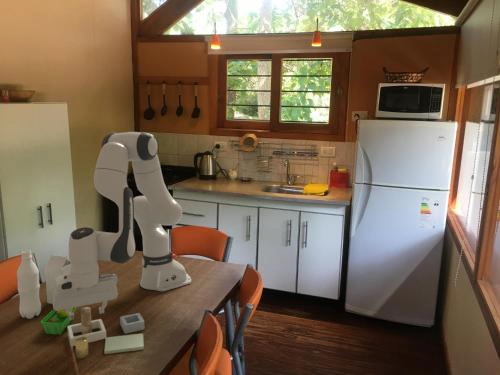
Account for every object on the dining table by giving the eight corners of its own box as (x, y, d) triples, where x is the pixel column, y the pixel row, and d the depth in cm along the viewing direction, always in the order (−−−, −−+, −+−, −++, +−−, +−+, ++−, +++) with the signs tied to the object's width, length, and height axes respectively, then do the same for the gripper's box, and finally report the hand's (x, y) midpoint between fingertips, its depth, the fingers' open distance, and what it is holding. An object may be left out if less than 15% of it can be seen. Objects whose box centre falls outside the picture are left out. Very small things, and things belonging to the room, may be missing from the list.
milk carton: (63, 305, 164) (60, 259, 160) (47, 303, 166) (44, 257, 162) (74, 297, 171) (72, 253, 167) (58, 295, 172) (56, 251, 169)
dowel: (91, 333, 145) (89, 306, 143) (93, 337, 142) (91, 310, 140) (81, 335, 143) (79, 308, 141) (82, 340, 140) (81, 312, 138)
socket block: (139, 322, 153) (139, 312, 153) (144, 331, 148) (144, 321, 147) (120, 327, 150) (120, 316, 149) (124, 336, 144) (124, 325, 144)
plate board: (143, 340, 143) (143, 333, 143) (143, 353, 136) (143, 346, 135) (106, 344, 140) (105, 337, 140) (104, 358, 133) (104, 351, 132)
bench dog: (87, 353, 134) (86, 336, 133) (89, 359, 131) (88, 341, 130) (75, 356, 132) (74, 338, 131) (77, 362, 129) (76, 344, 128)
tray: (101, 328, 149) (101, 318, 148) (106, 340, 141) (106, 331, 141) (68, 335, 144) (67, 325, 143) (71, 349, 136) (70, 339, 135)
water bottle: (25, 310, 159) (20, 248, 154) (44, 310, 160) (40, 248, 155) (16, 320, 152) (11, 254, 147) (37, 320, 153) (32, 255, 148)
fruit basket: (56, 319, 154) (54, 290, 152) (80, 320, 154) (79, 291, 152) (40, 335, 143) (38, 305, 141) (66, 337, 143) (64, 306, 141)
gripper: (115, 268, 146) (116, 305, 149) (50, 279, 136) (53, 318, 139) (119, 275, 141) (120, 313, 144) (52, 287, 131) (55, 327, 134)
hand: (87, 315), depth 141 cm, fingers open, 8 cm apart
